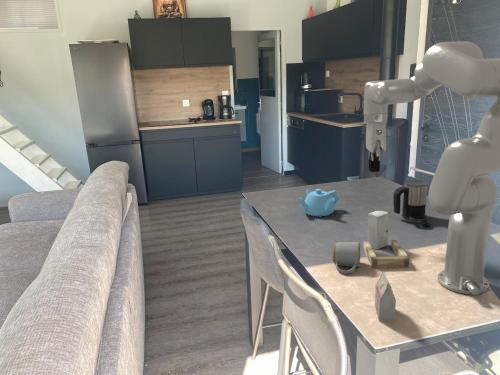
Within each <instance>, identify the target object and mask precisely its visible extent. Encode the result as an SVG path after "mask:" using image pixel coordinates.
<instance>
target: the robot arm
mask: <svg viewBox="0 0 500 375" xmlns="http://www.w3.org/2000/svg"><path fill="white" fill-rule="evenodd" d="M483 56H484V55H483V52H482V49H481V48H480V46H479V45H477V44H476V43H474V42H472V41H466V40H465V41H463V40H462V41H441V42H438V43H434V44H433V45H432V46H430V47H429V48H428V49H427V50H426V51H425V53H424V55H423V58H422V60H421V61H420V62H419V63H417V64H416V67H414V72H413V73H414V75H413V76H411V77H408V78H398V79H397V78H396V79H395V78H394V79H386V80H372V81H370V80H369V81H367V82H366V83H365V84H364V97H363V98H364V100H363V101H364V103H363V104H364V105H363V106H364V107H363V123H364V124H366V128H365V130H366V131H365V148H366V150H368V171H369V172H370V173H378V172H380V171H381V170H380V169H381V166H380V165H381V152H382V153H386V152H387V135H386V134H387V132H386V131H387V130H386V128H387V127H386V124H387V123H388V105H395V104H405V103H411V102H414V101H417V100H420V99H422V98H425V97H427V96H429V95H431V94H432V93H433V92H434V91H435V89H438V88H440V87H442V86H443V87H445V88H447V89H449V90H450V91H452V92H454V93H456V94H457V95H458V96H459V95H460V96H461V97H463V98H467V99H468V98H469V99H481V98H490V97H496V100H495V101H494V102H493V104H492V105H491V106H490V107H489V108H488V109H487V110H486V112H485V114H484V115H483V117H482V119H481V122H480V124H479V127H478V129H477V131H476V133H475V134H474V135H473V136H472V137H468V138H467V137H466V138H462V139H458V140H455V141H453V142H451V143H450V144H449V145H448V146H447V147H446V148H445V149H444V151H443V152H442V154H441V156H440V159H439V162H438V164H437V166H436V170H435V172H434V175H433V177H432V180H431V183H430V186H429V189H428V201H429V205H430V207H431V208H432V210H433V211H435V212H436V213H437V214H439V215H443V216H450V217H449V221H448V226H447V238H446V248H445V249H446V250H445V264H444V270H442V271H439V273H438V275H437V281H438V283H439V284H440V285H442V287H444V288H445V289H448V290H449V291H452V292H455V293H458V294H465V295H473V296H474V295H475V296H476V295H481V294H484V293H486V292H488V291H489V290H490V282H489V280H488V279H487V278H486V277H485V276H484V275H485V267H486V258H487V248H488V240H489V233H490V225H491V219H492V216H493V211H494V209H495V205H496V203H497V198H498V193H499V192H498V191H499V190H498V186H497V183H496V181H495V180H494V179H493V177H491V176H489V175H490V174H495V173H498V172H499V171H500V57H497V58H483Z"/></svg>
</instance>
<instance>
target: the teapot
mask: <svg viewBox="0 0 500 375" xmlns="http://www.w3.org/2000/svg"><path fill="white" fill-rule="evenodd" d="M305 191H306V197H305V199H304V198H303V197H299V198H297V200H298V202H299V204H300V207H301V208H302V211H303V212H304V213H305V214H306V215H307V214H308V215H307V216H310V215H311V216H310V217H314V216H317V217H316V218H321V217H322V216H324V217H328V216H330V214H331V215H332V214H333V213H334V212H335V209H336V207H335V206H336V204H337V203H338V201H339V197H338V193H337V191H336V190H334V189H333V190H331V191H330V190H329V191H328V192H327V191H325V190H323V189H321V188H317V189H315V190H313V191H311V190H310V189H306V190H305ZM318 216H319V217H318ZM322 218H323V217H322Z"/></svg>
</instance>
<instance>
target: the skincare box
mask: <svg viewBox="0 0 500 375" xmlns="http://www.w3.org/2000/svg"><path fill="white" fill-rule="evenodd" d="M389 214H390V213H389V212H387V211H384V210H380V209H379V210H375V211H372V212H370V213H369V212H368V214H367V241H368V242H369V244H370V246H371V248H372V249H373V250H380V249H381V248H384V247H386V246H387V247H388V244H389V218H390V217H389Z"/></svg>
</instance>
